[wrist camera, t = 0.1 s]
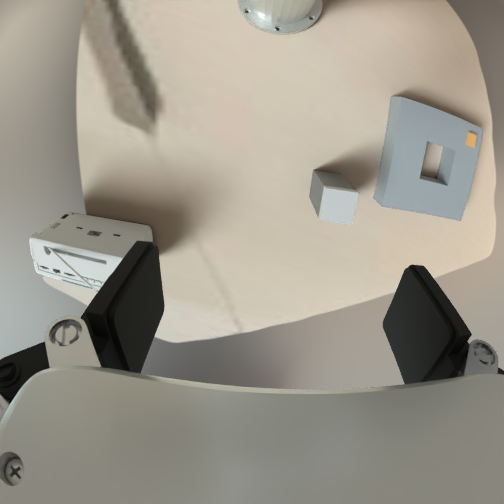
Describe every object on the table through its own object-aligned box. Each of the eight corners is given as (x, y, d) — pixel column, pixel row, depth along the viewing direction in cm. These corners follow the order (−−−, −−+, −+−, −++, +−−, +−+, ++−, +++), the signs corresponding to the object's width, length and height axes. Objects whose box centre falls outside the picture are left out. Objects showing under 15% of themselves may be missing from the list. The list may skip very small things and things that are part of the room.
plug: (313, 169, 44) (325, 188, 35) (340, 173, 44) (358, 192, 35) (309, 196, 46) (319, 220, 38) (335, 199, 46) (351, 224, 38)
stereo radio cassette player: (69, 241, 52) (14, 298, 35) (65, 206, 48) (1, 256, 31) (156, 259, 54) (116, 332, 36) (157, 221, 50) (108, 287, 32)
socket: (391, 96, 37) (404, 96, 33) (470, 125, 37) (485, 129, 33) (373, 198, 46) (383, 208, 42) (450, 212, 46) (463, 222, 42)
